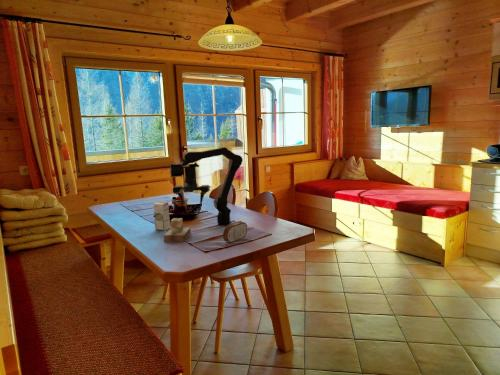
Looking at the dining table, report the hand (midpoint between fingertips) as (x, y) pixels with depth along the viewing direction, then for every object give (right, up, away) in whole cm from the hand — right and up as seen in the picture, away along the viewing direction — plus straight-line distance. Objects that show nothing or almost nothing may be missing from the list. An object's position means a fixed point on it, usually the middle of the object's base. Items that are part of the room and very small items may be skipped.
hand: (192, 204), depth 183 cm
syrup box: (-16, -13, 0) cm, 21 cm away
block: (-5, -12, -16) cm, 20 cm away
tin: (+24, -16, -20) cm, 36 cm away
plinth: (-5, -15, -15) cm, 22 cm away
